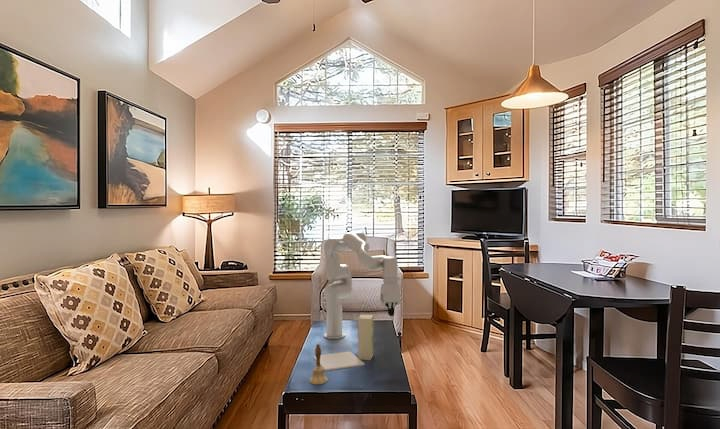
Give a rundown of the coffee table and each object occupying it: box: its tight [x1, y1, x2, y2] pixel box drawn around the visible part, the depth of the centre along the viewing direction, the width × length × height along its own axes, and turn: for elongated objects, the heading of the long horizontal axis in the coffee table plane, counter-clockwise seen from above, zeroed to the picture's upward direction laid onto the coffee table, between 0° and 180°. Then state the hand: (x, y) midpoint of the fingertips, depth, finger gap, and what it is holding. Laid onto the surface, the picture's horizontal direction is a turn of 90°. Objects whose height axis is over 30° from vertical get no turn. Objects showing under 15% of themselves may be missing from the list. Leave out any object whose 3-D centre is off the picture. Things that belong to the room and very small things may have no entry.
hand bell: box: [308, 344, 329, 385], centre depth 189 cm, size 8×8×16 cm
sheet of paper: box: [313, 350, 365, 372], centre depth 214 cm, size 20×20×1 cm
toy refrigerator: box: [357, 314, 375, 361], centre depth 220 cm, size 8×7×21 cm
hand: (391, 315), depth 224 cm, fingers closed
